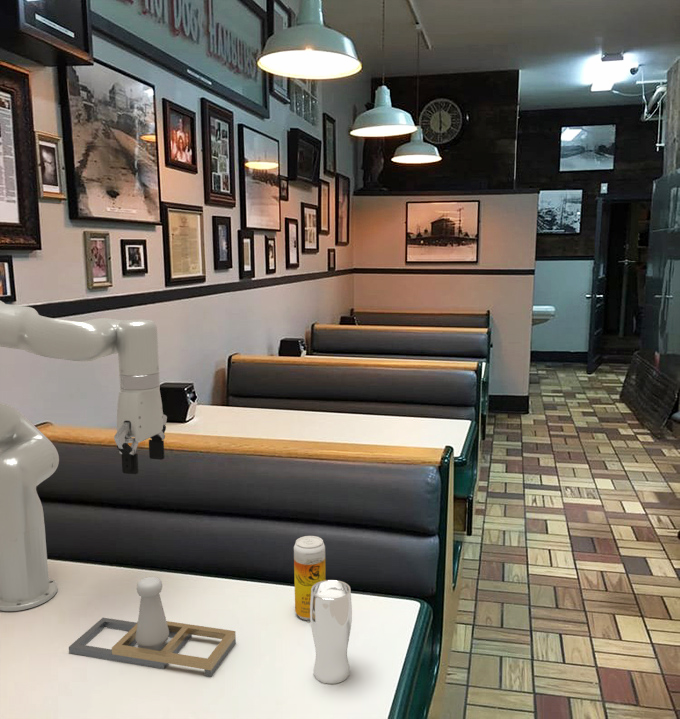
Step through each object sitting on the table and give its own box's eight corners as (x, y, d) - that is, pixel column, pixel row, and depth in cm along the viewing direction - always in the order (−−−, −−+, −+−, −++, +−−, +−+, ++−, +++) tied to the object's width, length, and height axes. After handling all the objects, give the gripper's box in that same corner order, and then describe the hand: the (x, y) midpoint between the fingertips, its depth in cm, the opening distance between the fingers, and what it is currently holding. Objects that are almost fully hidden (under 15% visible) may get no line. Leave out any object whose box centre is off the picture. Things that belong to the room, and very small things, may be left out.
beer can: (302, 625, 123) (301, 550, 121) (290, 610, 128) (288, 538, 126) (331, 616, 126) (330, 544, 123) (317, 602, 131) (316, 532, 129)
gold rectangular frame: (112, 660, 112) (111, 647, 112) (143, 629, 122) (143, 617, 121) (211, 677, 107) (210, 663, 107) (235, 643, 117) (235, 631, 117)
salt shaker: (174, 639, 118) (171, 573, 116) (163, 658, 113) (159, 588, 111) (143, 638, 119) (139, 572, 117) (130, 656, 113) (126, 587, 111)
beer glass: (338, 691, 104) (337, 604, 101) (302, 677, 107) (301, 592, 105) (359, 668, 109) (359, 585, 107) (325, 655, 113) (324, 575, 111)
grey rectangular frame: (69, 653, 114) (68, 646, 114) (103, 623, 124) (102, 617, 124) (164, 669, 110) (163, 662, 109) (191, 636, 119) (191, 630, 119)
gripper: (146, 374, 136) (150, 452, 139) (96, 389, 120) (101, 478, 122) (178, 375, 134) (182, 455, 137) (132, 391, 118) (136, 481, 120)
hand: (144, 465), depth 129 cm, fingers open, 9 cm apart
